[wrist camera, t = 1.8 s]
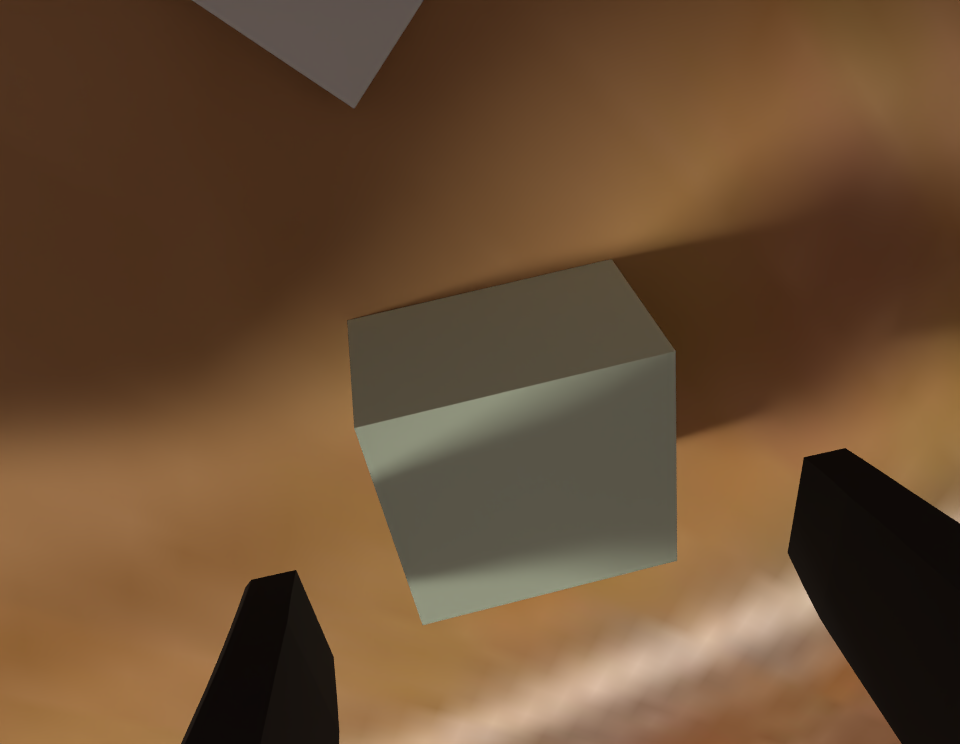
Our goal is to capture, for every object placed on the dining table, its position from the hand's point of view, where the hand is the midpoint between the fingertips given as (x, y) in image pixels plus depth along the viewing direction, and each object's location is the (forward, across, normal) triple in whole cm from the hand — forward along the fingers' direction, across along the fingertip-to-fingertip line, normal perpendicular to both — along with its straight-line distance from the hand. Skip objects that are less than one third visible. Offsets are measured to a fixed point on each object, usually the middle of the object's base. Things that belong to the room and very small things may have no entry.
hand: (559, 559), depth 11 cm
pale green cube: (+4, 0, 0) cm, 4 cm away
